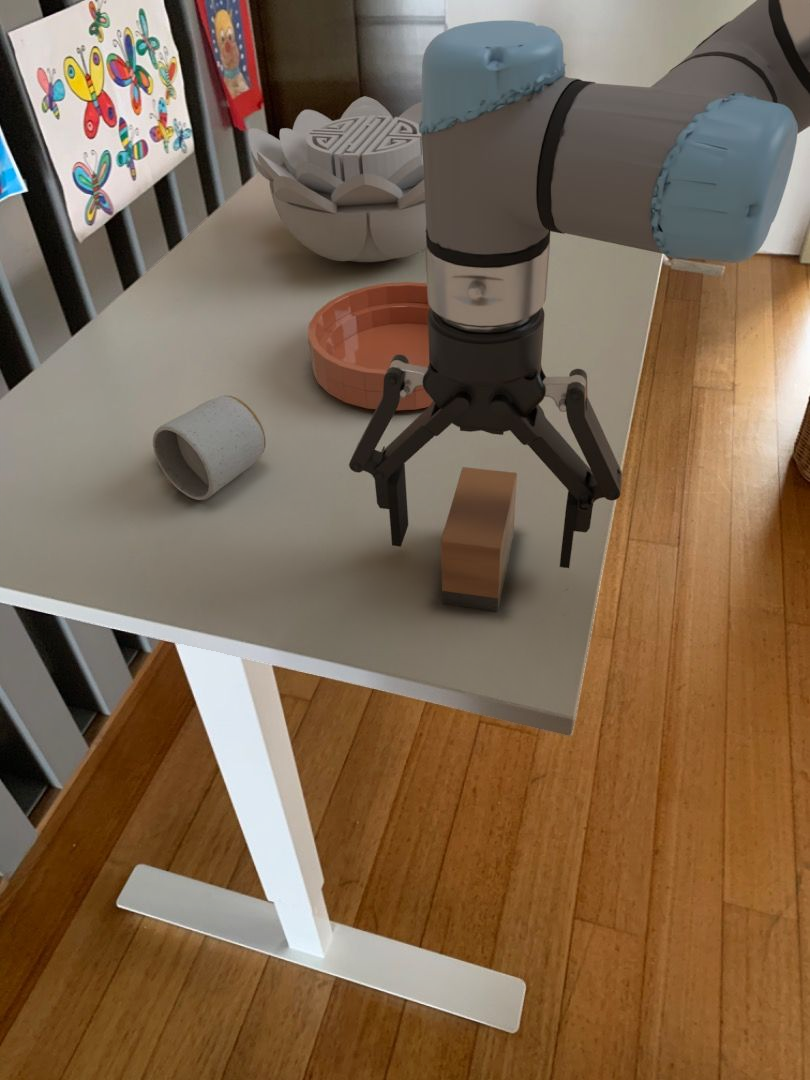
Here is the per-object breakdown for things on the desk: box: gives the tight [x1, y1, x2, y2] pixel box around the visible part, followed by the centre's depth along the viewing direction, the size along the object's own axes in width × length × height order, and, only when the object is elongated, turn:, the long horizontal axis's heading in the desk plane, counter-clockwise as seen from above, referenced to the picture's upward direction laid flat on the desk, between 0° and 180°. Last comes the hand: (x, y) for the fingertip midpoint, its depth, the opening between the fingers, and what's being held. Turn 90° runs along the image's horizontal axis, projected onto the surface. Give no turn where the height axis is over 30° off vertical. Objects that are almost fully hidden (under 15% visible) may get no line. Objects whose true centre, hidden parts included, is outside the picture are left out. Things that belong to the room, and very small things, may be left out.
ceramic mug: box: [152, 395, 267, 501], centre depth 79 cm, size 11×8×8 cm
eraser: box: [440, 466, 518, 612], centre depth 68 cm, size 9×4×7 cm, turn 167°
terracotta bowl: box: [307, 281, 433, 411], centre depth 92 cm, size 20×20×5 cm
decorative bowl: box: [248, 95, 426, 263], centre depth 112 cm, size 30×30×15 cm
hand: (481, 545), depth 68 cm, fingers open, 13 cm apart
